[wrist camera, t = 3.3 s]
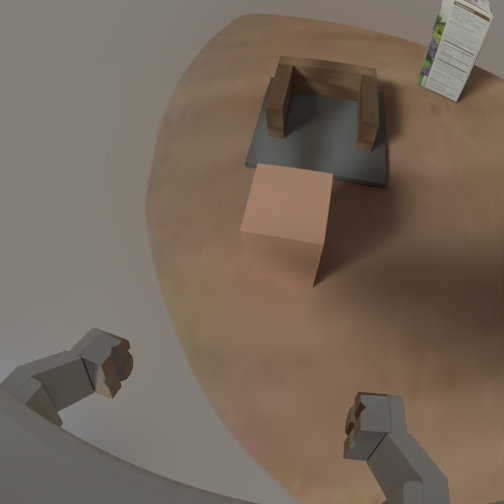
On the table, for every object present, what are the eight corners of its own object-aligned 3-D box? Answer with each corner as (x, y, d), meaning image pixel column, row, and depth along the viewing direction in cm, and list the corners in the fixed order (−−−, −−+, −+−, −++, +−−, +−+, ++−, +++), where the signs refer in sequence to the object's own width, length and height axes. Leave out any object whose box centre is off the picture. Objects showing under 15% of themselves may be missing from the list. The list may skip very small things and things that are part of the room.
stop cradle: (382, 96, 31) (389, 66, 27) (384, 188, 27) (397, 158, 23) (271, 81, 34) (268, 50, 29) (246, 166, 29) (239, 135, 25)
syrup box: (422, 64, 33) (444, -21, 20) (460, 82, 32) (490, 0, 18) (416, 84, 32) (443, -11, 18) (458, 104, 30) (495, 14, 17)
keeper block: (321, 235, 26) (333, 173, 18) (312, 287, 25) (323, 244, 16) (268, 226, 27) (257, 163, 19) (256, 277, 26) (240, 230, 17)
